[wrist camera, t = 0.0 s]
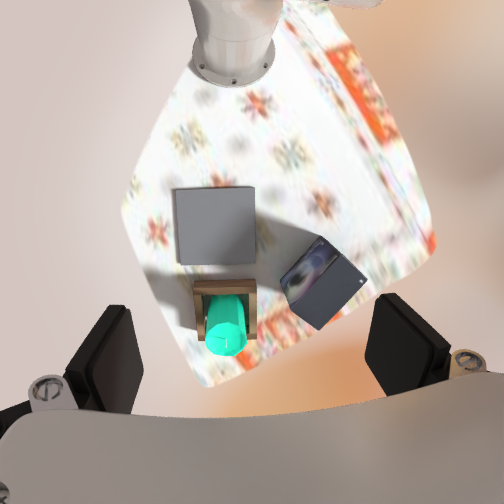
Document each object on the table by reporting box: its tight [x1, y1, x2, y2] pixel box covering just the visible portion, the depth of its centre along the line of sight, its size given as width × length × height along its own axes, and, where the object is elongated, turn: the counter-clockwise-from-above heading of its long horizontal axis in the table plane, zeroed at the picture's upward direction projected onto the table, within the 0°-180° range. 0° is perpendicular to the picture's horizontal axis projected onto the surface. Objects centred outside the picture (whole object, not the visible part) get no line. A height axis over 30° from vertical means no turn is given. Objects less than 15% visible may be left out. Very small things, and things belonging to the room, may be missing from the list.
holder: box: [193, 279, 257, 341], centre depth 49 cm, size 10×10×3 cm
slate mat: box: [176, 188, 255, 265], centre depth 46 cm, size 12×12×1 cm
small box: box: [280, 236, 368, 330], centre depth 45 cm, size 11×6×10 cm, turn 140°
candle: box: [205, 294, 247, 356], centre depth 45 cm, size 6×6×12 cm
